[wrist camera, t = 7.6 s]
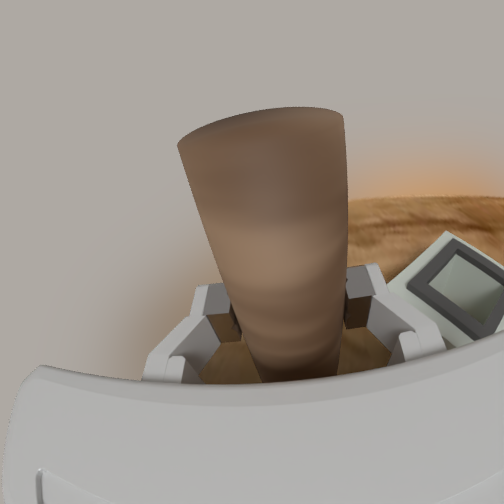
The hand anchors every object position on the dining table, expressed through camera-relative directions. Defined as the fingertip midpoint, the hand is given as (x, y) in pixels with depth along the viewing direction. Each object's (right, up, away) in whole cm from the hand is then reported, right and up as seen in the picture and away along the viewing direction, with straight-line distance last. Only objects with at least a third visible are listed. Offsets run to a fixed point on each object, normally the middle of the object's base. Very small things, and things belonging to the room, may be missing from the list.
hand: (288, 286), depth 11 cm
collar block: (+15, -5, +7) cm, 18 cm away
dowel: (+2, -8, +5) cm, 10 cm away
